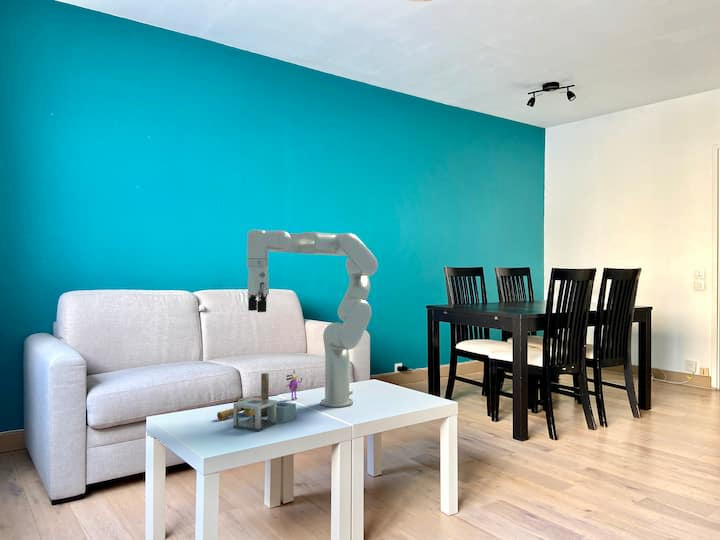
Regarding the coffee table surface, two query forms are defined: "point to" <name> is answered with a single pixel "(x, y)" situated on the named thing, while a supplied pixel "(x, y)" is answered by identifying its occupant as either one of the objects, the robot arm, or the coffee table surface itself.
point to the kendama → (230, 412)
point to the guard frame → (257, 422)
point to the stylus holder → (283, 412)
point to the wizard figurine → (293, 383)
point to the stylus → (264, 392)
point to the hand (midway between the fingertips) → (257, 311)
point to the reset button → (252, 413)
